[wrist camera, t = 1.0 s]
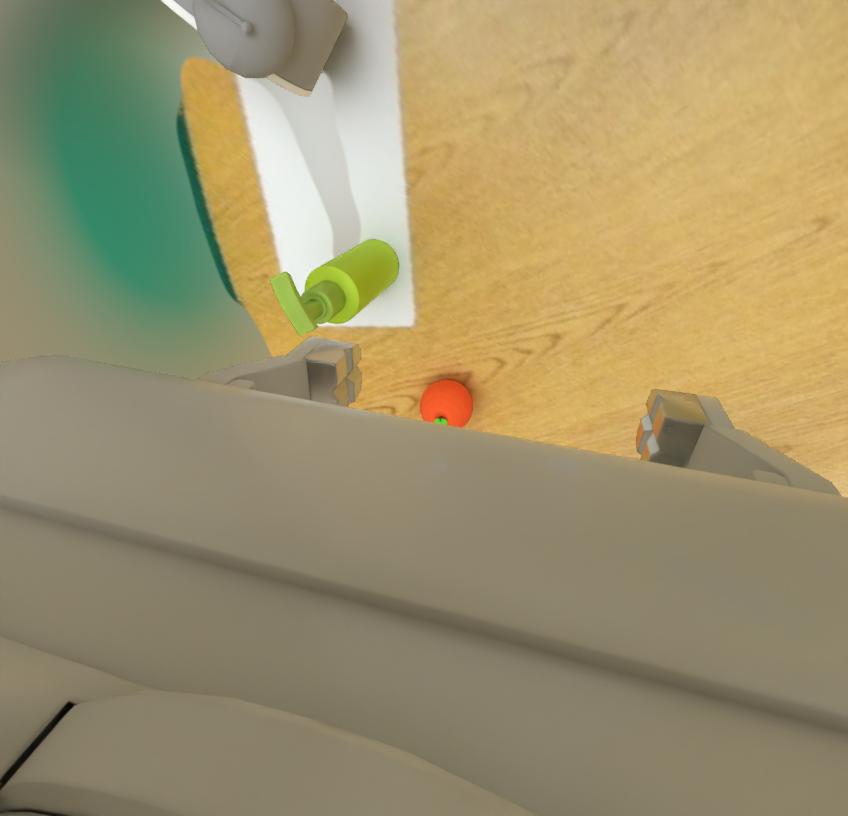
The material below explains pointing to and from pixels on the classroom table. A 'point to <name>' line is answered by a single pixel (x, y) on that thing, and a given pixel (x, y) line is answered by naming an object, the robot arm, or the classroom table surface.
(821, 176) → the classroom table surface
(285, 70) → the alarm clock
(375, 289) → the soap dispenser
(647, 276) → the classroom table surface
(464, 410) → the clementine
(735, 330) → the classroom table surface
